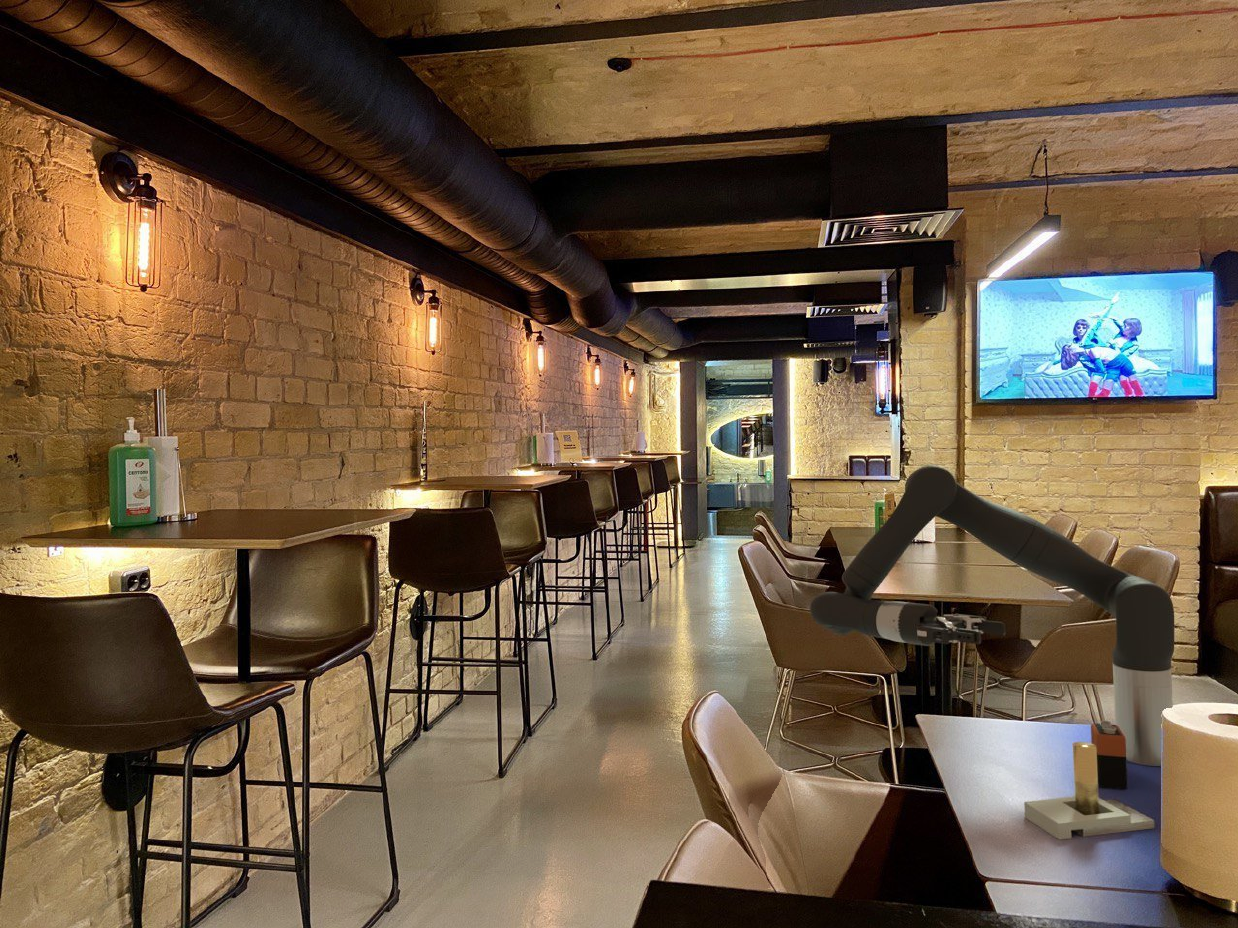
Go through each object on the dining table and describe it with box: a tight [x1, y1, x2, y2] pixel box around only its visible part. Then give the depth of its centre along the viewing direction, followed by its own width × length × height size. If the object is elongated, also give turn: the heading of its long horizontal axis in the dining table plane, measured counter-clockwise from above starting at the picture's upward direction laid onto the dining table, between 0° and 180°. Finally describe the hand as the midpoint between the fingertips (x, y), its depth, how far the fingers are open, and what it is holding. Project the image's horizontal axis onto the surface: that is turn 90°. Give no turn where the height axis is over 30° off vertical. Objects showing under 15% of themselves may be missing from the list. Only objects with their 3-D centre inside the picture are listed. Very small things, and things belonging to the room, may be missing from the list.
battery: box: [1090, 720, 1128, 790], centre depth 142 cm, size 4×7×10 cm, turn 158°
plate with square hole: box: [1023, 795, 1131, 840], centre depth 127 cm, size 12×8×2 cm, turn 99°
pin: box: [1072, 741, 1100, 815], centre depth 127 cm, size 3×3×12 cm
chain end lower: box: [1073, 798, 1155, 837], centre depth 128 cm, size 12×8×1 cm, turn 99°
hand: (992, 633), depth 141 cm, fingers open, 8 cm apart
